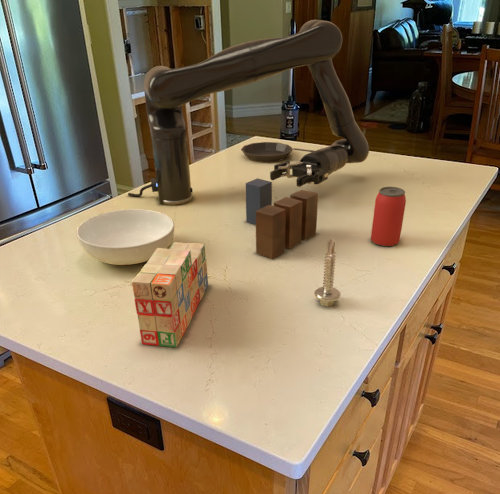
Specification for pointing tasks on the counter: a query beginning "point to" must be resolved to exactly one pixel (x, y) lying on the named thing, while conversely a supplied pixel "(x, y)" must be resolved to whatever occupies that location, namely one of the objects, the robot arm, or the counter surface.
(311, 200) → the line block
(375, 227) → the beer can
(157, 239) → the serving bowl
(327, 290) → the screw
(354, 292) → the counter surface
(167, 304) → the stack of blocks
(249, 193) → the block
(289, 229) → the line block
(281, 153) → the frying pan
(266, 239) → the line block
